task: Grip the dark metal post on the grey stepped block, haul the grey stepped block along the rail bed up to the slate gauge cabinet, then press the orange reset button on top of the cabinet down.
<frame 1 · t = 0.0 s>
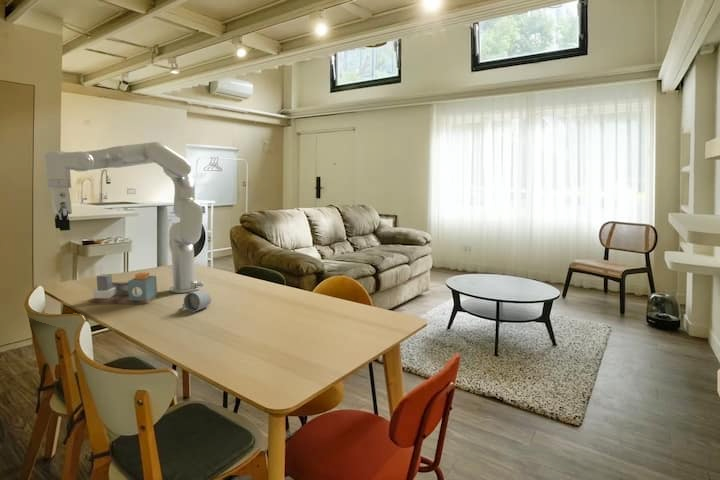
hand: (62, 229, 164), 31 cm above the table, tool pointing down, fingers open, 9 cm apart
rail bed: (125, 300, 179), on the table
reset button: (142, 277, 178), point 10 cm above the table, slide at 0.0 cm
gauge cabinet: (143, 300, 180), resting on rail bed
grey stepped block: (105, 285, 178), point 6 cm above the table, slide at 0.0 cm
ceramic mug: (195, 309, 169), on the table
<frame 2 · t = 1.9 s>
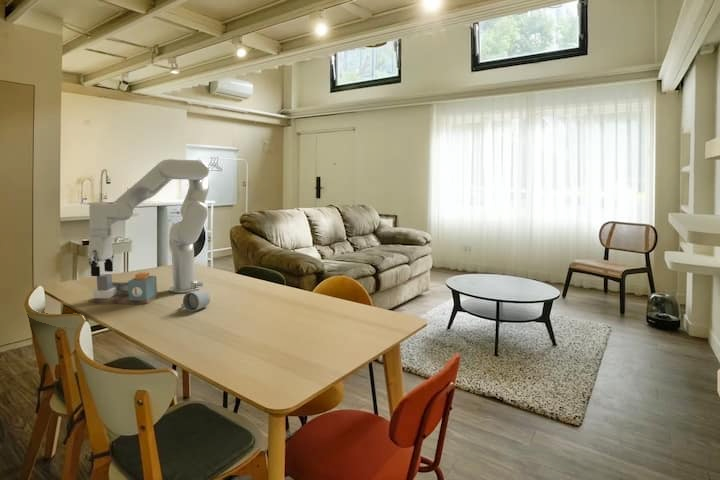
hand: (102, 273, 177), 12 cm above the table, tool pointing down, fingers open, 9 cm apart
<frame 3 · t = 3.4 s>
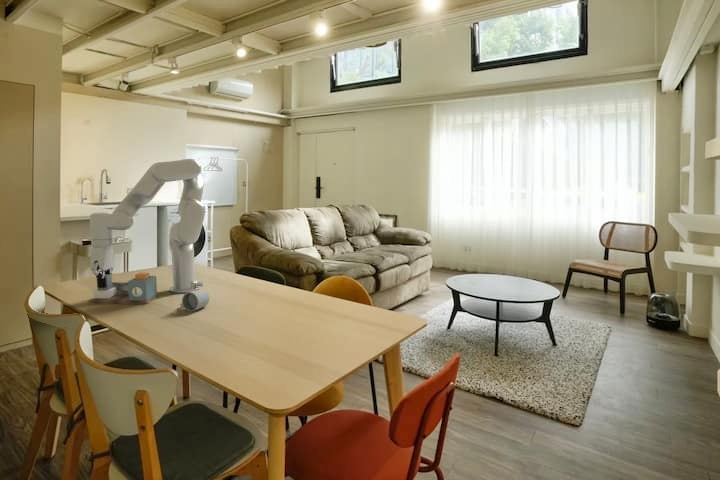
hand: (105, 285, 178), 6 cm above the table, tool pointing down, fingers closed on grey stepped block, 4 cm apart
grey stepped block: (105, 285, 178), point 6 cm above the table, slide at 0.0 cm, touching gripper
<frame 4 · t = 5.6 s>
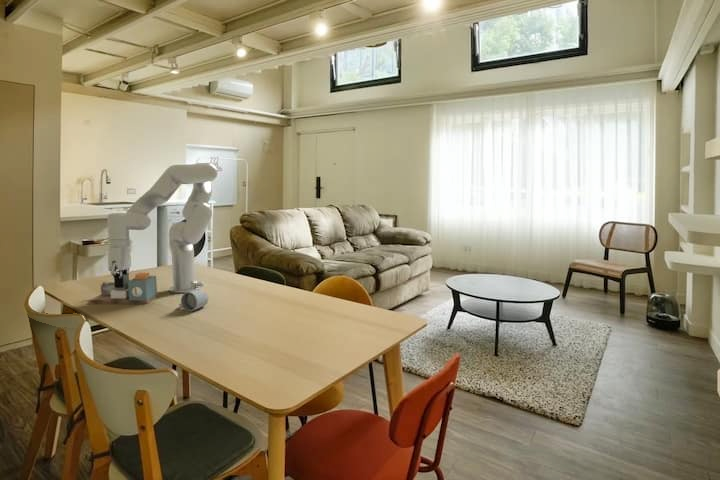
hand: (122, 285, 178), 6 cm above the table, tool pointing down, fingers closed on grey stepped block, 4 cm apart
grey stepped block: (122, 285, 178), point 6 cm above the table, slide at 7.0 cm, touching gripper
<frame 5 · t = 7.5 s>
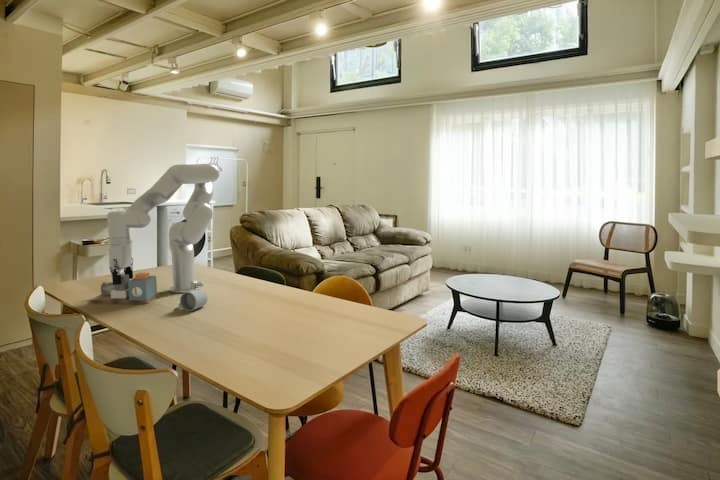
hand: (123, 281, 179), 8 cm above the table, tool pointing down, fingers open, 9 cm apart
grey stepped block: (122, 285, 178), point 6 cm above the table, slide at 7.0 cm
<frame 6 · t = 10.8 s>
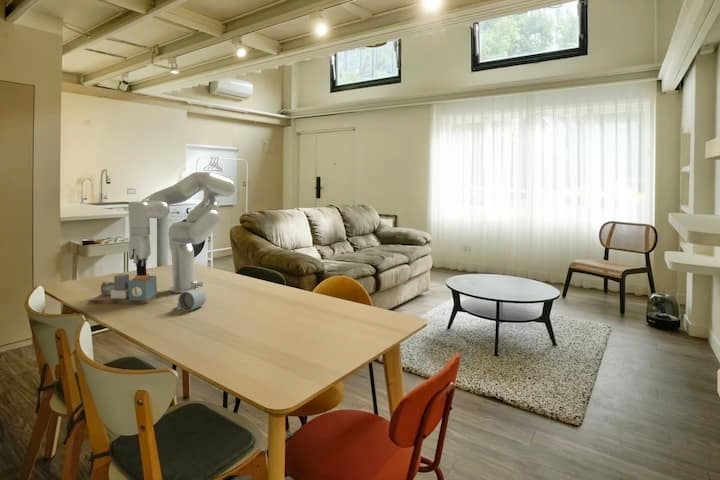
hand: (141, 275, 178), 11 cm above the table, tool pointing down, fingers closed
reset button: (142, 278, 178), point 9 cm above the table, slide at 0.6 cm, touching gripper
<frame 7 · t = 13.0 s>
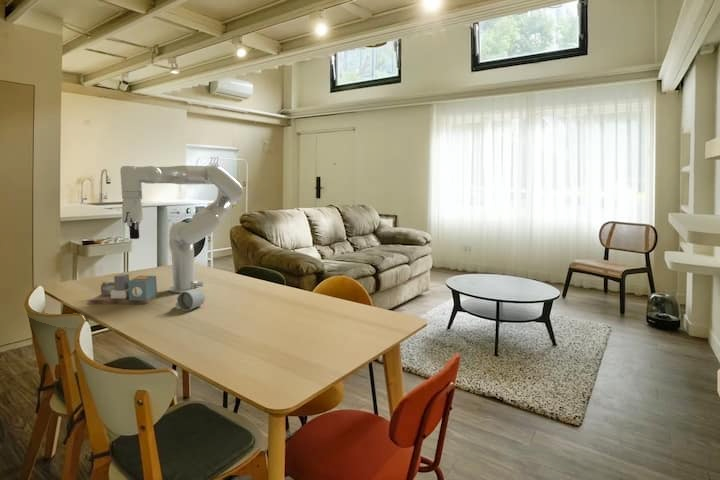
hand: (134, 238, 182), 25 cm above the table, tool pointing down, fingers closed
reset button: (142, 281, 179), point 8 cm above the table, slide at 1.7 cm
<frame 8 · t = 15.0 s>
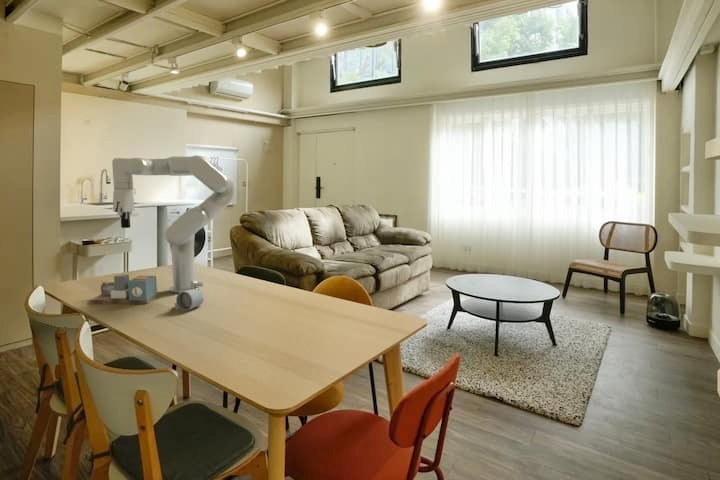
hand: (125, 227, 191), 29 cm above the table, tool pointing down, fingers closed
at the end: grey stepped block slide at 7.0 cm; reset button slide at 1.7 cm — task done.
